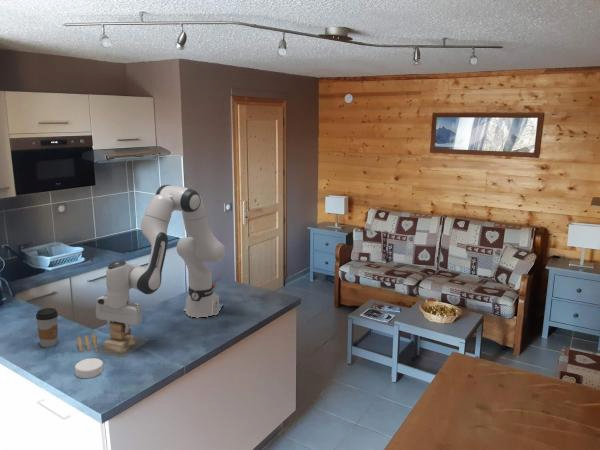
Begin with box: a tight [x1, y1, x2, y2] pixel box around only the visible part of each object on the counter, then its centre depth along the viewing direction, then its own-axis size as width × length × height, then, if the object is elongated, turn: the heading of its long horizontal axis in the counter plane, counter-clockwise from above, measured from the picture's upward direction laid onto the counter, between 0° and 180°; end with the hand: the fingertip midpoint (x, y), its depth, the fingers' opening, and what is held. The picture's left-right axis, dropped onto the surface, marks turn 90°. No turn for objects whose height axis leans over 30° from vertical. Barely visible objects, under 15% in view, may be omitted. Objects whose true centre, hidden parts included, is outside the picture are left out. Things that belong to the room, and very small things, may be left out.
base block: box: [103, 334, 135, 355], centre depth 206 cm, size 10×8×4 cm
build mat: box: [94, 337, 149, 359], centre depth 209 cm, size 18×14×1 cm
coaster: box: [74, 357, 104, 379], centre depth 188 cm, size 10×10×4 cm
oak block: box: [109, 321, 128, 339], centre depth 205 cm, size 5×5×6 cm
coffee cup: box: [35, 307, 59, 348], centre depth 207 cm, size 8×8×15 cm
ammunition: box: [76, 334, 99, 353], centre depth 206 cm, size 5×7×8 cm
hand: (119, 331), depth 205 cm, fingers closed on oak block, 5 cm apart
